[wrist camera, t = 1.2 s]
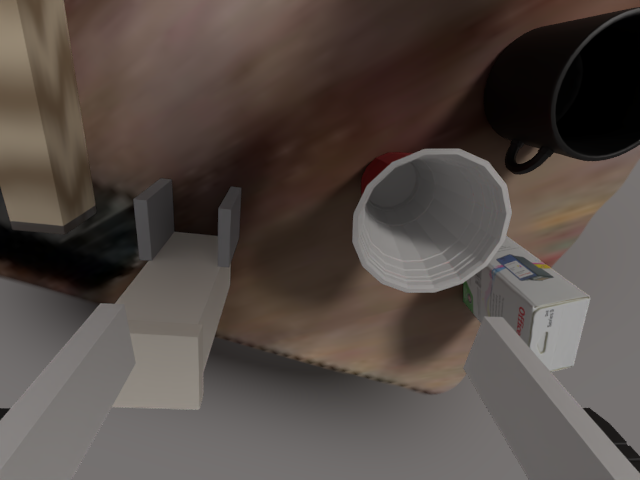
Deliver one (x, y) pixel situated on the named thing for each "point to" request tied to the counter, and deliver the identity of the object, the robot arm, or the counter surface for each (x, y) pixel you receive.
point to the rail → (41, 121)
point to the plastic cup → (429, 218)
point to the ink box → (530, 303)
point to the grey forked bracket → (175, 300)
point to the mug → (569, 90)
